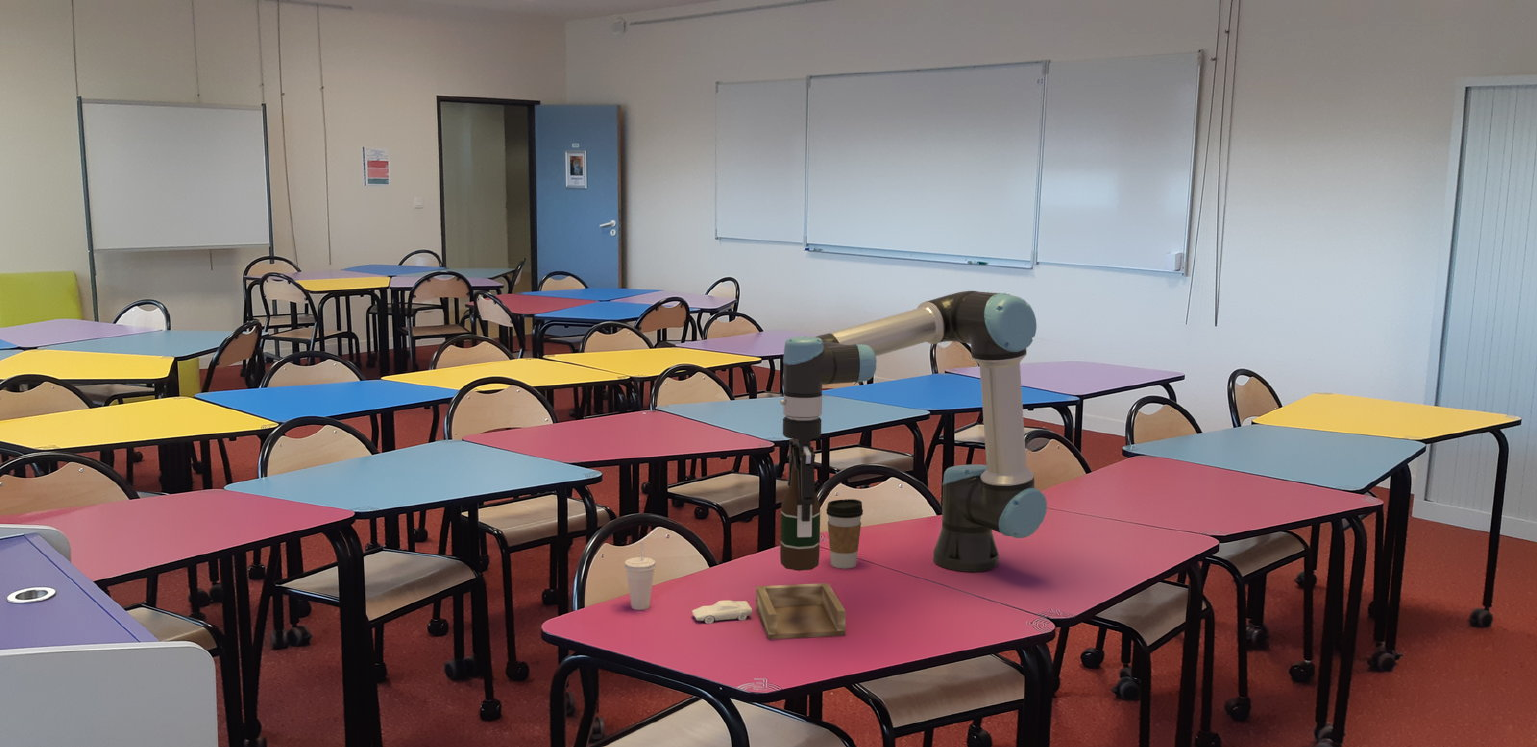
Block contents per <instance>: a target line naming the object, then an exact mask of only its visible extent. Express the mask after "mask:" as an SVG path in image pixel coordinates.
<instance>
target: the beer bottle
mask: <svg viewBox="0 0 1537 747" xmlns="http://www.w3.org/2000/svg"><path fill="white" fill-rule="evenodd" d="M795 447H796V446H795ZM792 452H793V449H792ZM806 498H809V497H806ZM795 502H799V489H798V472H797V470H796V469H795V463H794V456H793V466H792V479H791V484H790V486H788V488H787V490H786V492H785V493H784V495H783V498H782V500H781V506H780V544H779V547H780V548H779V549H780V550H779V553H780V554H779V555H780V564H781V565H782V566H783V567H784V568H785V569H787V570H792V571H798V572H801V571H812V570H814V569H815V568H817V567H818V566H819V564H820V551H821V550H820V544H821V543H820V542H821V541H820V540H821V538H820V537H821V536H820V535H821V530H820V529H821V503H820V500H819V496H818V494H817V493H816V492H815V503H814V504H812V537H797V515H798V505H796V503H795Z"/></svg>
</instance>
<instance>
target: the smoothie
mask: <svg viewBox="0 0 1537 747" xmlns="http://www.w3.org/2000/svg"><path fill="white" fill-rule="evenodd" d="M656 567H657V566H656V560H655V559H653V558H651V557H645V556H644V540H642V539H641V540H640V557H639V556H636V557H632V558H628V559H626V560H625V561H624V568H625V569H626V577H627V583H628V591H629V597H630V598H629V599H630V606H631V609H633V610H636V611H643V610H647V609H649V608H650V607H651V596H652V588H653V580H654V579H653V578H654V572H655V570H654V569H655V568H656Z"/></svg>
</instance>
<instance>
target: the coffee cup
mask: <svg viewBox="0 0 1537 747" xmlns="http://www.w3.org/2000/svg"><path fill="white" fill-rule="evenodd" d="M863 514H864V510H863V502H862V501H861V500H860V499H855V498H854V499H853V498H852V499H850V498H849V499H836V500H831V501H829V502H827V507H826V515H828V516H827V517H828V518H827V519H828V521H827V530H828V542H829V543H828V544H829V555H830V566H832V567H833V568H835V569H844V570H845V569H852V568H855V567H856V566H857V562H858V561H857V560H858V551H859V543H860V542H859V541H860V535H861V527H862V526H861V525H862V522H861V519H862V518H861V517H862V516H863Z"/></svg>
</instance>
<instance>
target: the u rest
mask: <svg viewBox="0 0 1537 747" xmlns="http://www.w3.org/2000/svg"><path fill="white" fill-rule="evenodd" d="M755 589H756V594H755V595H756V599H755V600H756V601H755V602H756V604H755V605H756V606H755V607H756V613H757V614H758V617H759V620H760V622H761V624H762V627H763V629H764V631H765V634H766V636H767V639H768V640H769V641H770V640H784V639H804V638H807V639H808V638H821V637H825V638H826V637H839V636H840V637H841V636H842V637H843V636H846V620H847V618H846V616H847V615H846V614H847V612H846V609H845V607H844V606H843V604H842V603H841V601H840V600H839V598H838V596H837V595H836V594H835V591H834V590H833V589H832V587H831V585H830V584H829V583H828V582H826V583H825V582H824V583H823V582H822V583H819V582H818V583H804V584H803V583H801V584H782V585H781V584H780V585H779V584H778V585H760V586H759V585H758V586H756V588H755Z"/></svg>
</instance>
